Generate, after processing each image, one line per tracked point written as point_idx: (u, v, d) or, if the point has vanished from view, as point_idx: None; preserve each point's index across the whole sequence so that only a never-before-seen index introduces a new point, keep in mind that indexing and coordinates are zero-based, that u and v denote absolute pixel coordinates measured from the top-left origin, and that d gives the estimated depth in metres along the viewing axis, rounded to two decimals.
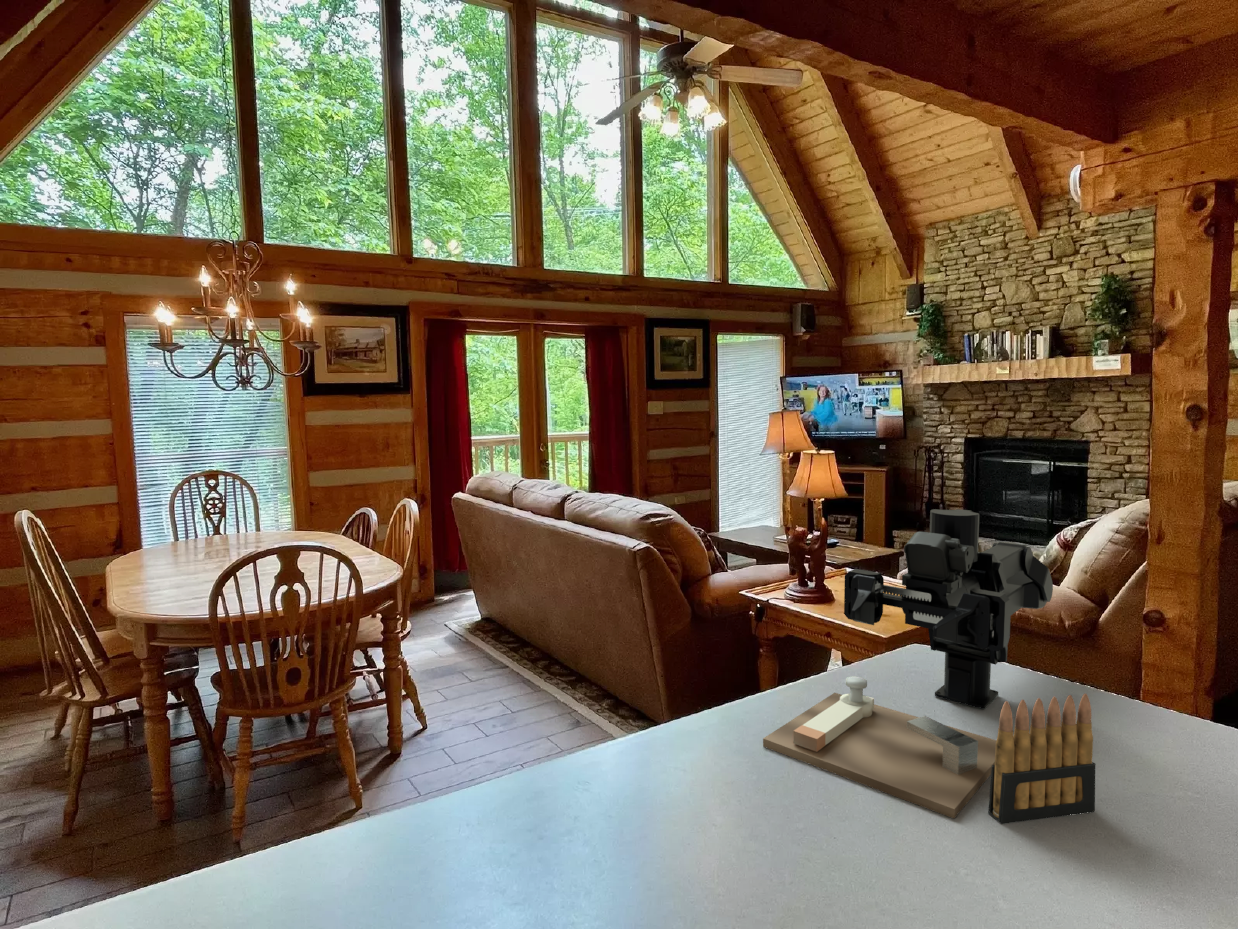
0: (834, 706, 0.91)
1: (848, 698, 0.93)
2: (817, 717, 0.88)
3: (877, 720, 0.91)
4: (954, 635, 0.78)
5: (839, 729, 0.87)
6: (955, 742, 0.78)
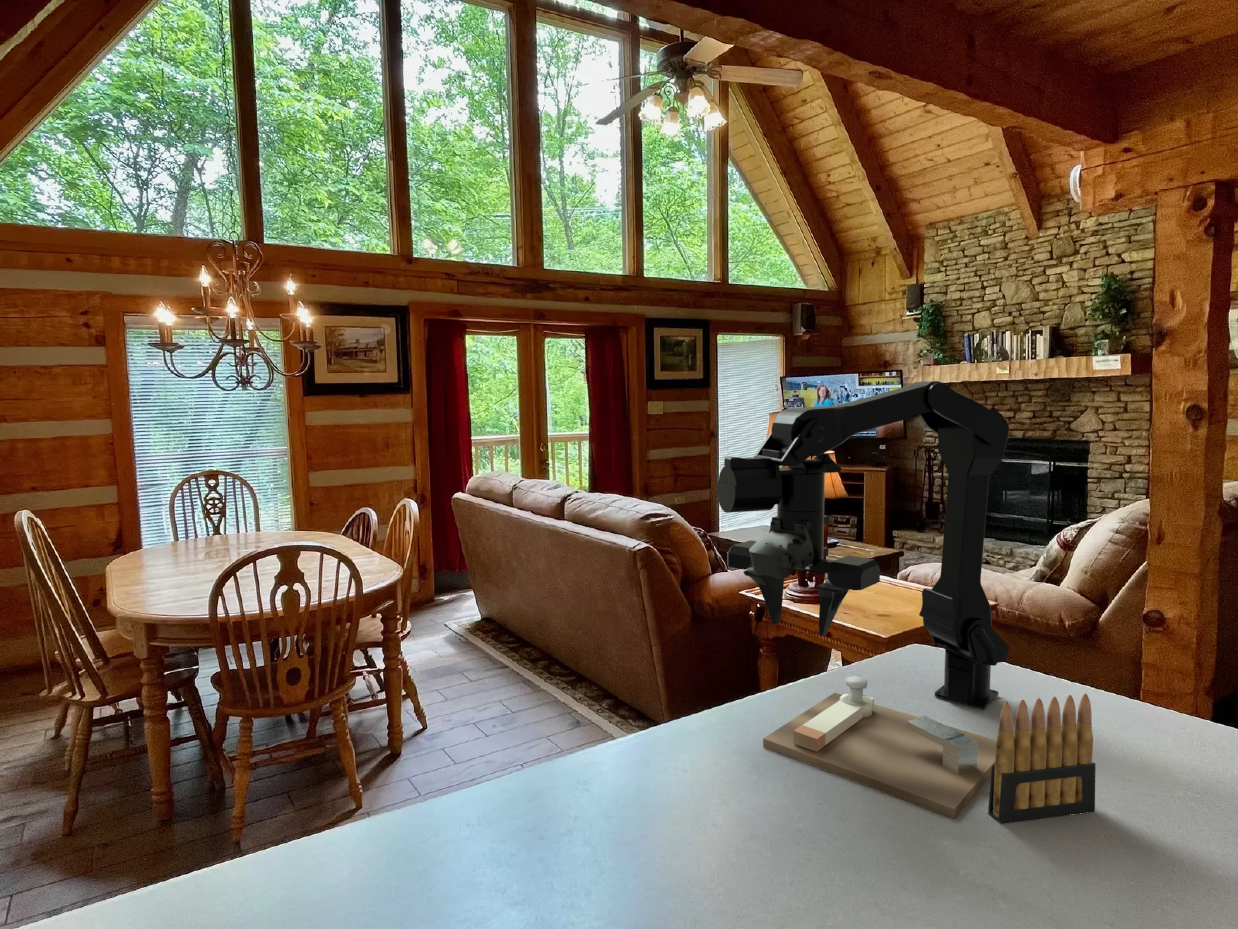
0: (834, 706, 0.91)
1: (848, 698, 0.93)
2: (817, 717, 0.88)
3: (877, 720, 0.91)
4: (834, 612, 0.89)
5: (839, 729, 0.87)
6: (955, 742, 0.78)
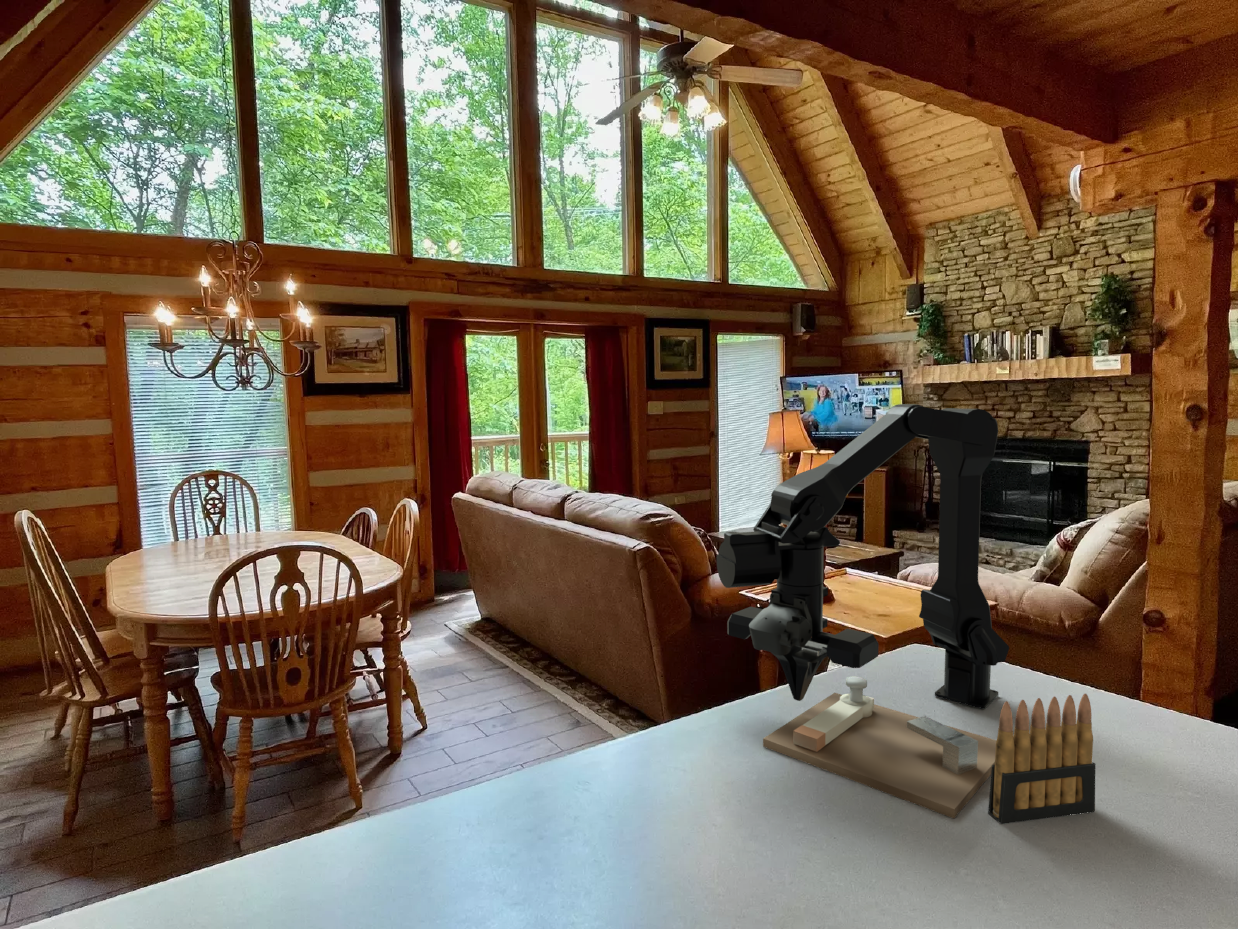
0: (834, 706, 0.91)
1: (848, 698, 0.93)
2: (817, 717, 0.88)
3: (877, 720, 0.91)
4: (810, 678, 0.93)
5: (839, 729, 0.87)
6: (955, 742, 0.78)
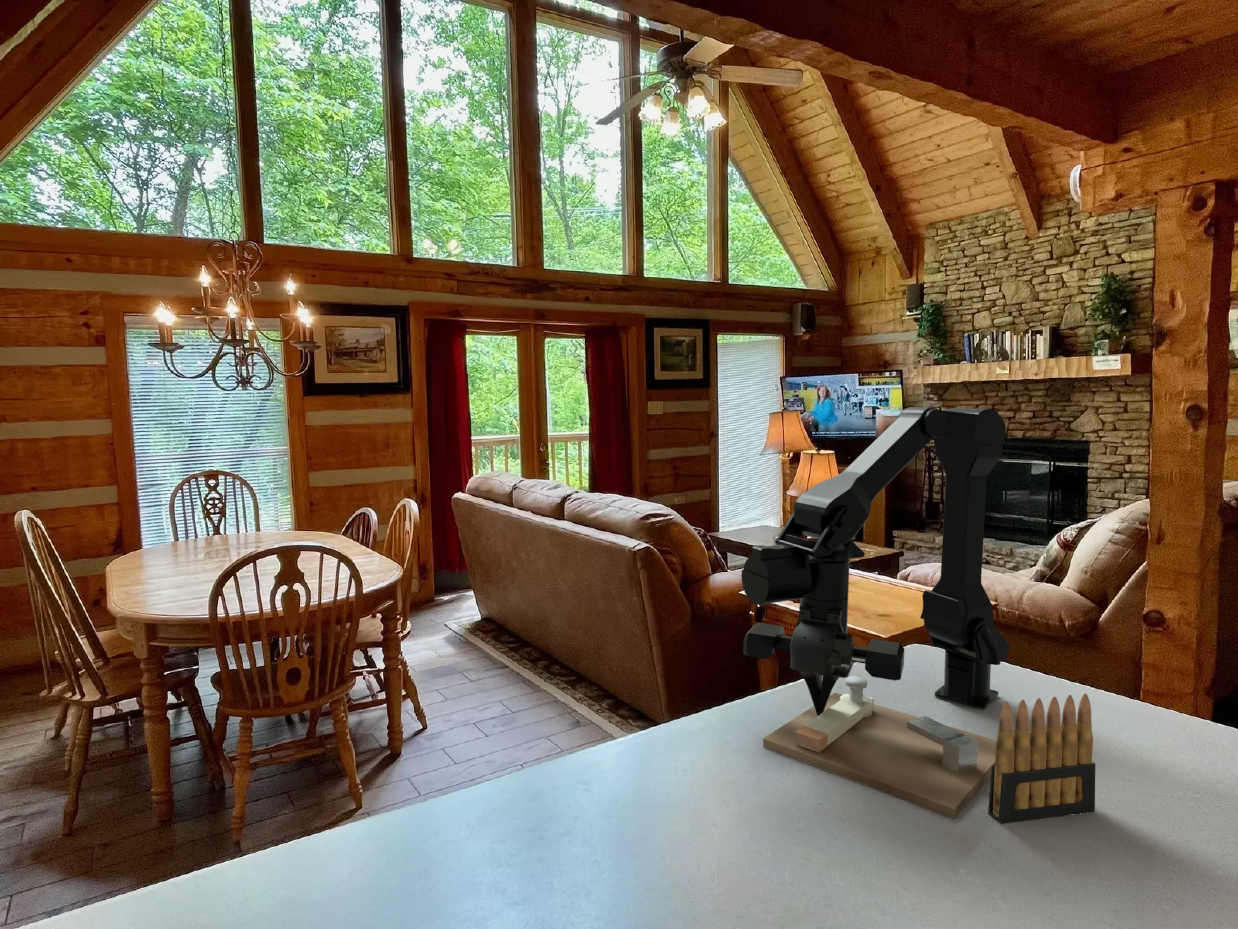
0: (834, 706, 0.91)
1: (848, 698, 0.93)
2: (819, 718, 0.88)
3: (877, 720, 0.91)
4: (830, 692, 0.91)
5: (840, 729, 0.87)
6: (955, 742, 0.78)
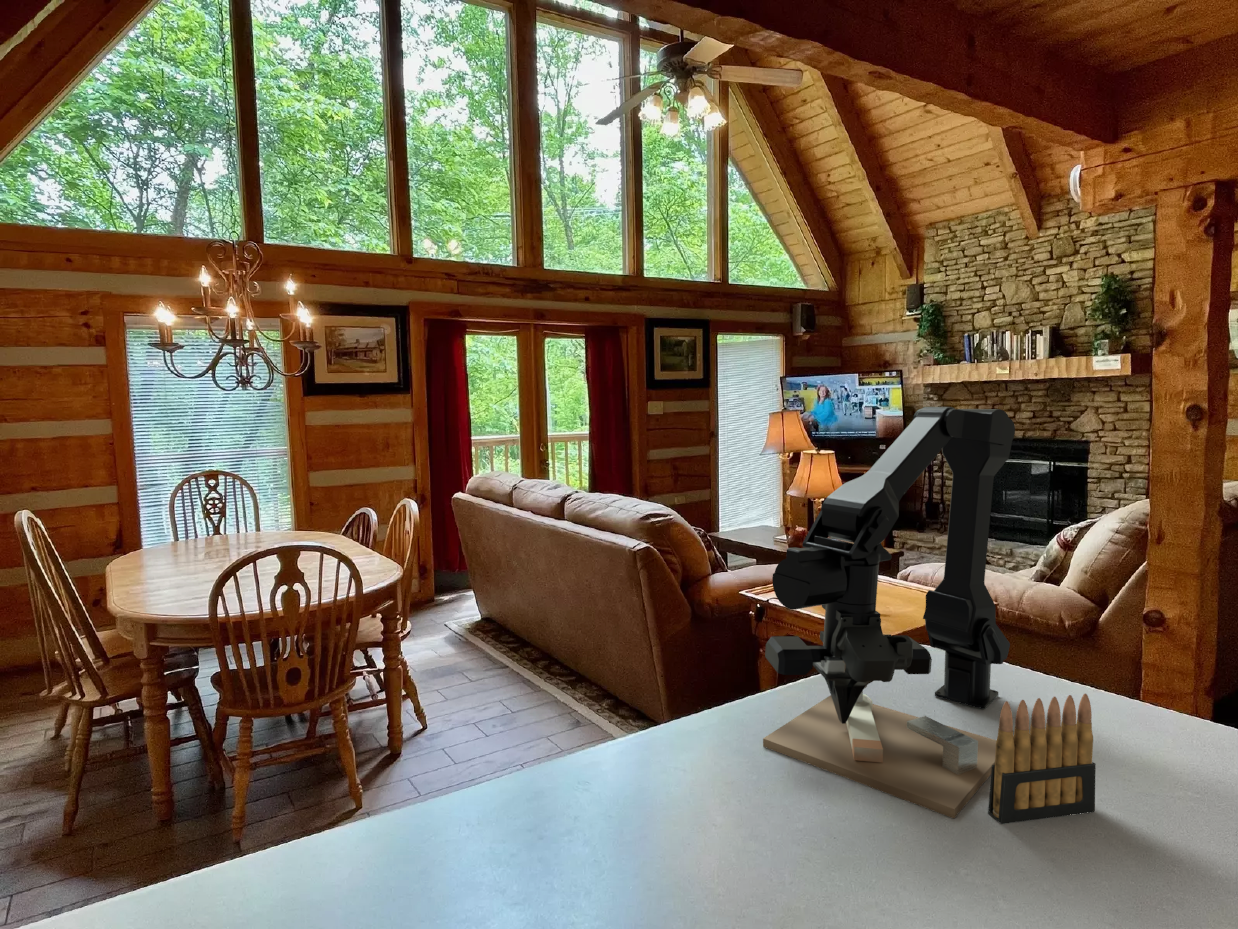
0: None
1: None
2: (853, 726, 0.85)
3: (877, 720, 0.91)
4: None
5: None
6: (955, 742, 0.78)
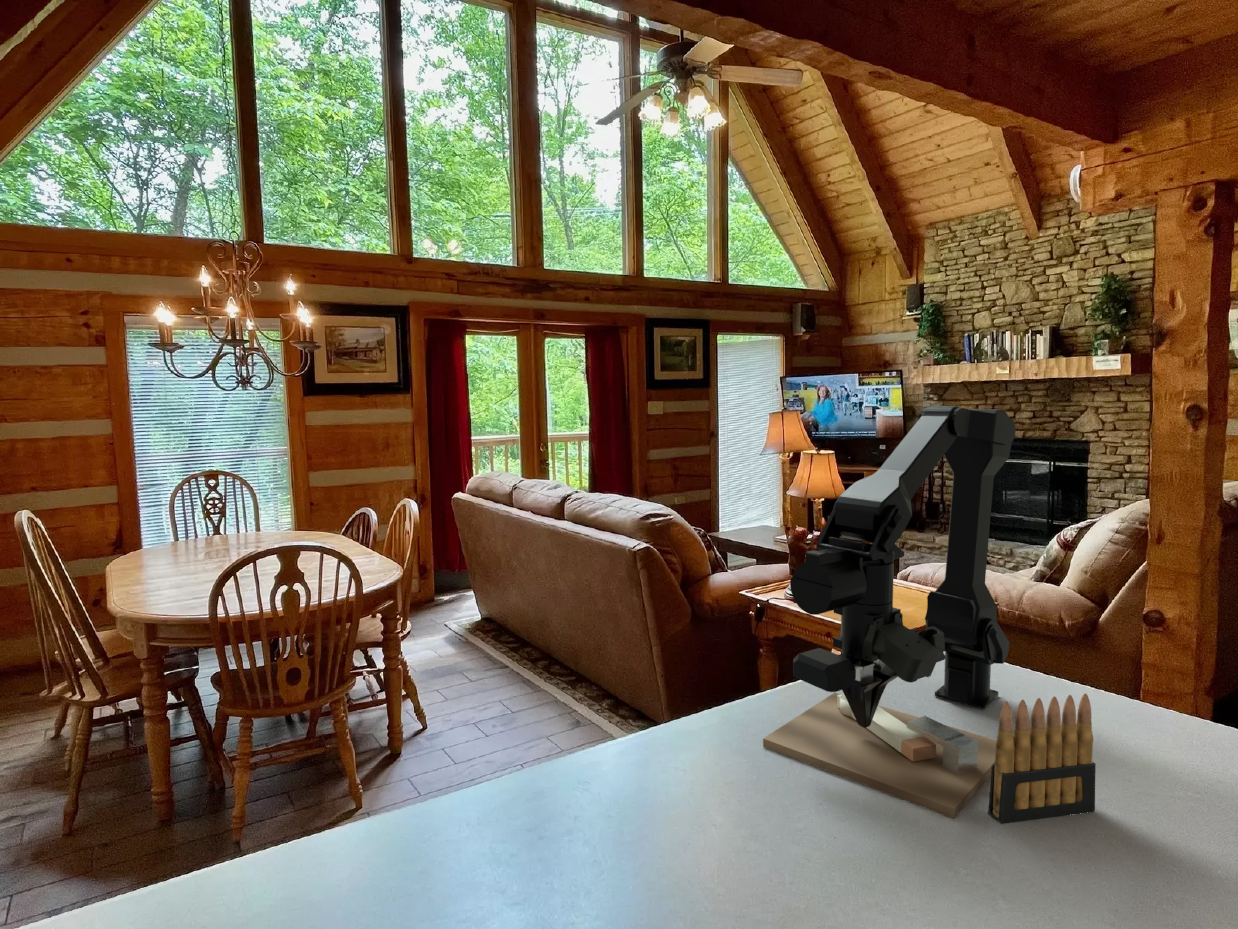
0: None
1: None
2: (887, 728, 0.85)
3: None
4: None
5: None
6: (955, 742, 0.78)
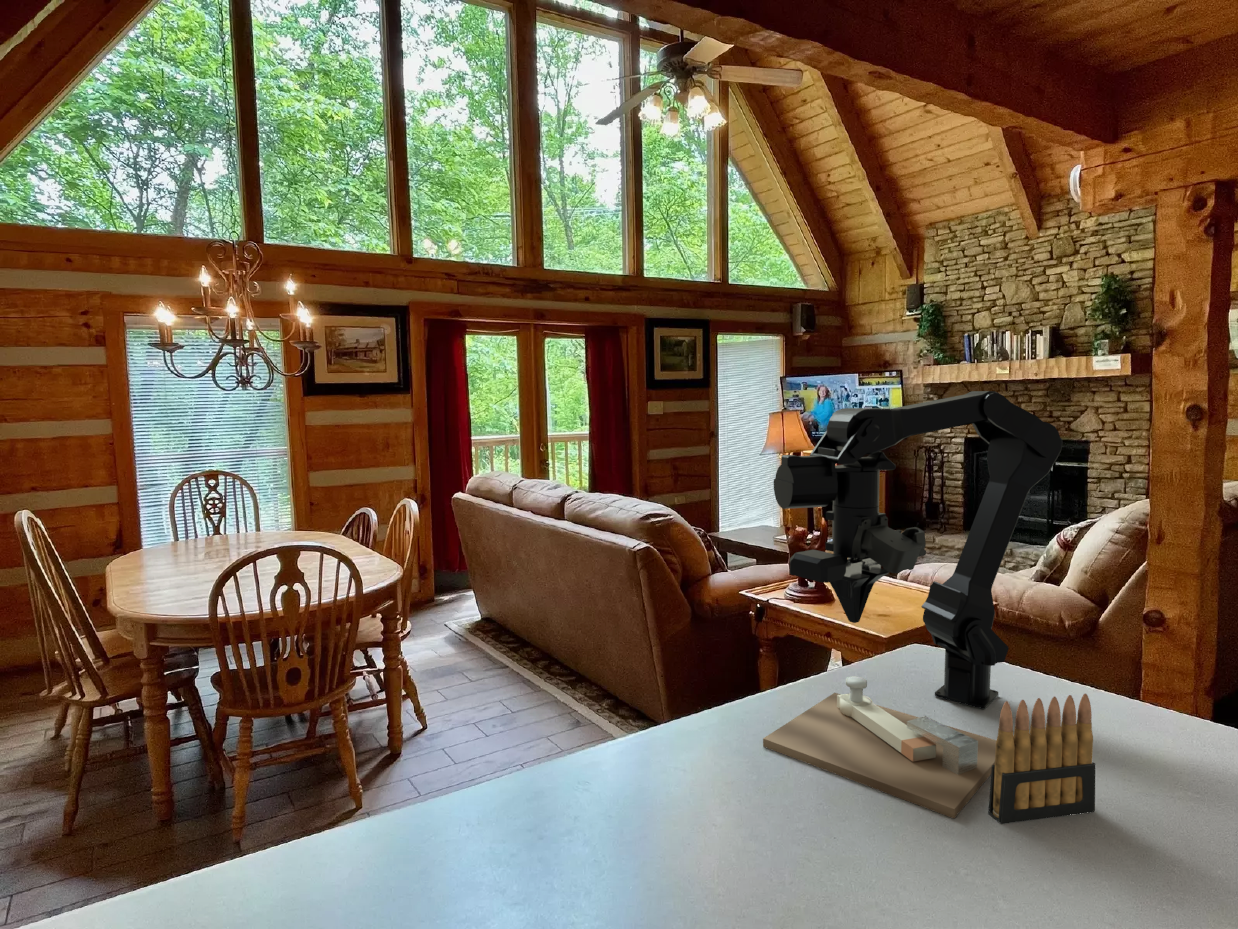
0: (864, 712, 0.89)
1: (850, 701, 0.92)
2: (887, 728, 0.85)
3: None
4: None
5: None
6: (955, 742, 0.78)
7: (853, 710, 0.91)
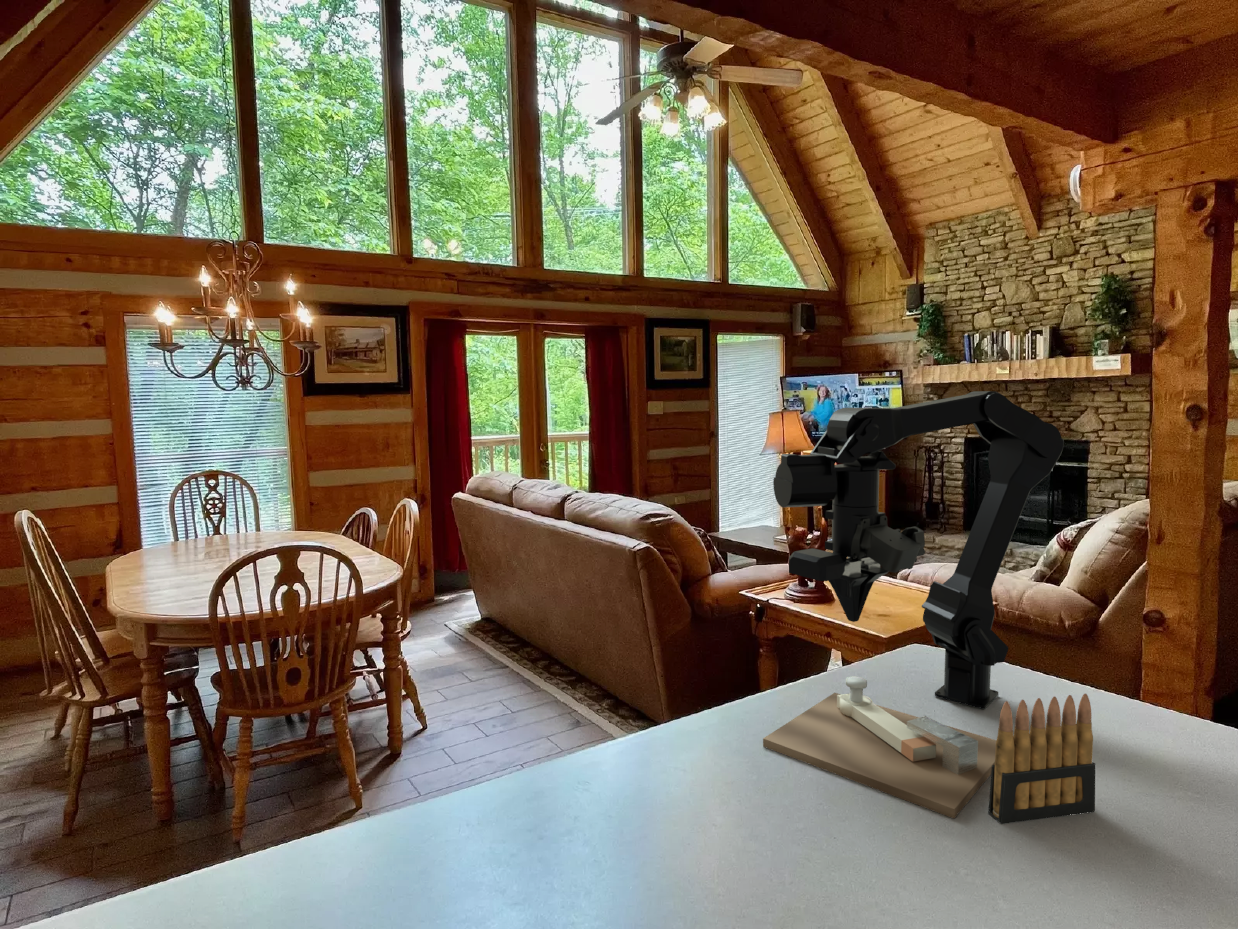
0: (864, 712, 0.89)
1: (850, 701, 0.92)
2: (887, 728, 0.85)
3: None
4: None
5: None
6: (955, 742, 0.78)
7: (853, 710, 0.91)
